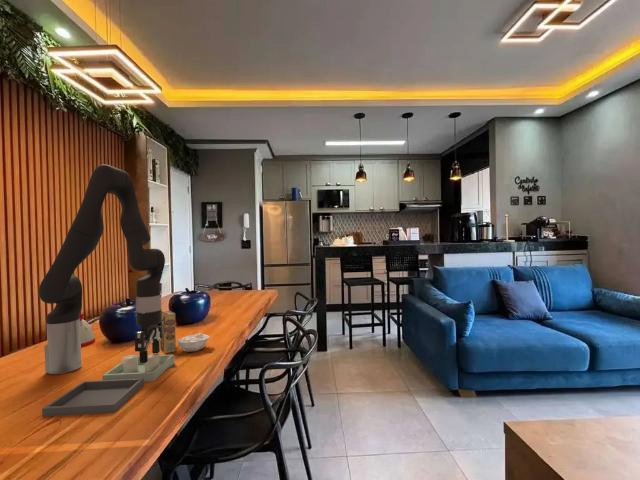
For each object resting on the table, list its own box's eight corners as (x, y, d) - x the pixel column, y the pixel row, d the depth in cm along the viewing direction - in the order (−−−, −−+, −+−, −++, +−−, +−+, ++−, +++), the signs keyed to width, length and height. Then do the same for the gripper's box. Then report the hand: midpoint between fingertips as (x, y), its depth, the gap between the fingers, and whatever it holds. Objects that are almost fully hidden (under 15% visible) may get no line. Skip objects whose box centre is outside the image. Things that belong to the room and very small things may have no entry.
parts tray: (42, 420, 83) (42, 408, 83) (84, 391, 98) (83, 381, 98) (114, 416, 83) (113, 404, 83) (144, 387, 99) (143, 378, 99)
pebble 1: (119, 375, 107) (119, 360, 106) (127, 369, 111) (127, 354, 111) (133, 374, 107) (133, 359, 107) (141, 369, 111) (140, 354, 111)
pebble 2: (142, 374, 107) (141, 359, 107) (148, 368, 111) (147, 354, 111) (156, 373, 107) (155, 358, 107) (162, 367, 112) (161, 353, 112)
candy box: (177, 351, 131) (175, 313, 131) (165, 354, 128) (164, 315, 128) (170, 345, 138) (169, 309, 137) (159, 348, 135) (158, 311, 135)
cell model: (178, 348, 134) (177, 332, 134) (209, 344, 138) (208, 328, 138) (177, 357, 125) (176, 339, 124) (210, 352, 129) (209, 335, 129)
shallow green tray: (102, 386, 101) (102, 375, 101) (129, 366, 116) (129, 356, 116) (154, 384, 102) (154, 372, 101) (174, 364, 117) (174, 354, 117)
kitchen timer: (75, 350, 136) (73, 314, 136) (46, 349, 138) (45, 314, 138) (102, 339, 149) (101, 307, 149) (76, 339, 152) (75, 307, 151)
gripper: (147, 304, 116) (148, 350, 116) (125, 314, 101) (126, 366, 102) (169, 304, 116) (170, 349, 116) (150, 313, 102) (151, 365, 102)
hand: (150, 357), depth 109 cm, fingers open, 8 cm apart
